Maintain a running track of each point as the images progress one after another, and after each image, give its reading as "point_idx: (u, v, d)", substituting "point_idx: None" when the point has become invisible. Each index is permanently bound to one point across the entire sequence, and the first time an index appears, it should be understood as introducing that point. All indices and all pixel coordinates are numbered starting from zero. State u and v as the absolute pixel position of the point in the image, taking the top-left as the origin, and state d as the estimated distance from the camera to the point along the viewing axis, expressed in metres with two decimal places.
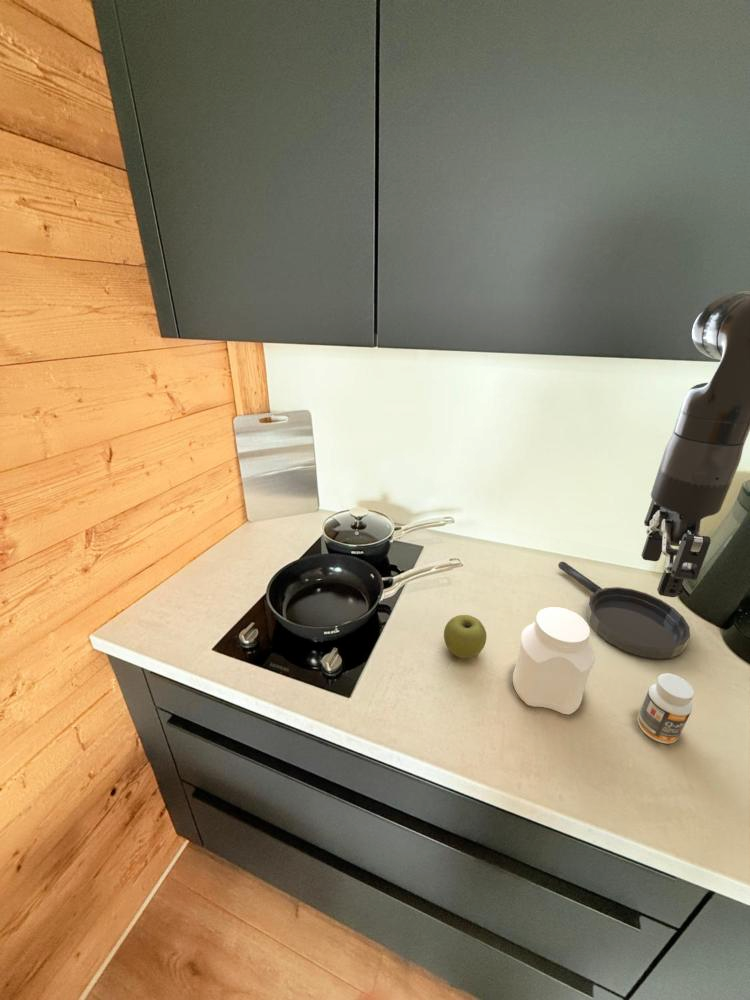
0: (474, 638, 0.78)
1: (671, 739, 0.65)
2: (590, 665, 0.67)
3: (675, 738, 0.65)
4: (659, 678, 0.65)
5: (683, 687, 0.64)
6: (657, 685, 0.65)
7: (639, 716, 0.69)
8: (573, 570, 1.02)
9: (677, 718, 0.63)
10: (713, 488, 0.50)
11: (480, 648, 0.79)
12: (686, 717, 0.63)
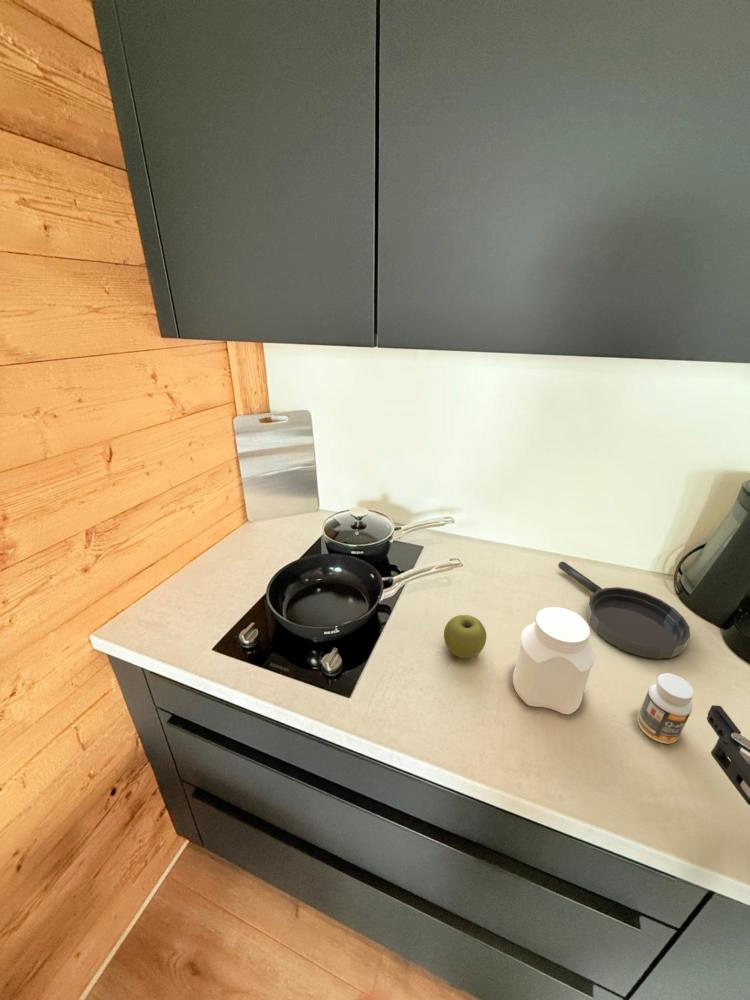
0: (474, 638, 0.78)
1: (671, 739, 0.65)
2: (590, 665, 0.67)
3: (675, 738, 0.65)
4: (659, 678, 0.65)
5: (683, 687, 0.64)
6: (657, 685, 0.65)
7: (639, 716, 0.69)
8: (573, 570, 1.02)
9: (677, 718, 0.63)
10: None
11: (480, 648, 0.79)
12: (686, 717, 0.63)
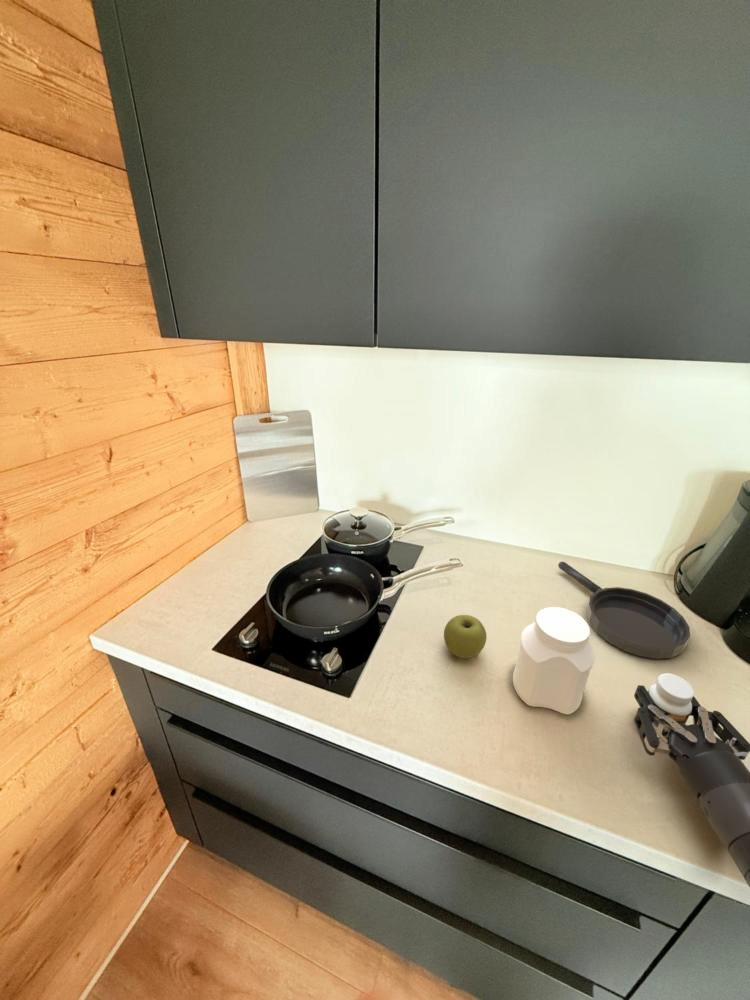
0: (474, 638, 0.78)
1: None
2: (590, 665, 0.67)
3: None
4: (659, 678, 0.65)
5: (683, 687, 0.64)
6: (657, 685, 0.65)
7: None
8: (573, 570, 1.02)
9: (677, 718, 0.63)
10: None
11: (480, 648, 0.79)
12: (686, 717, 0.63)
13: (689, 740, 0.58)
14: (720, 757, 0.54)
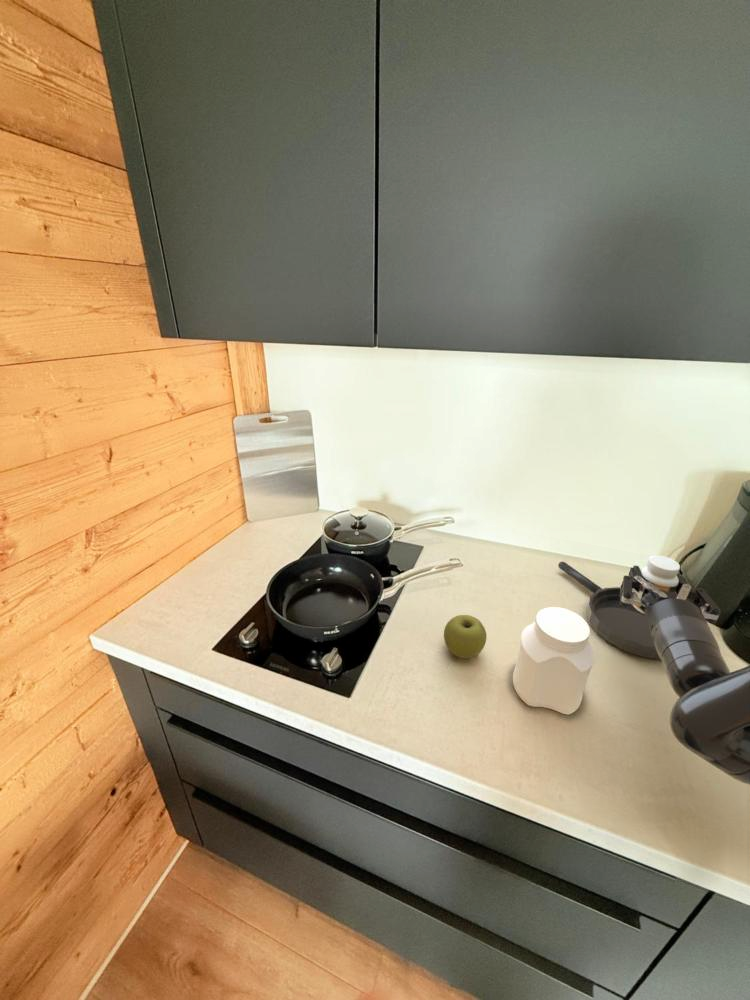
0: (474, 638, 0.78)
1: None
2: (590, 665, 0.67)
3: None
4: (651, 556, 0.75)
5: (671, 564, 0.72)
6: None
7: None
8: (573, 570, 1.02)
9: (660, 589, 0.72)
10: None
11: (480, 648, 0.79)
12: (669, 589, 0.72)
13: (660, 596, 0.68)
14: (678, 602, 0.64)
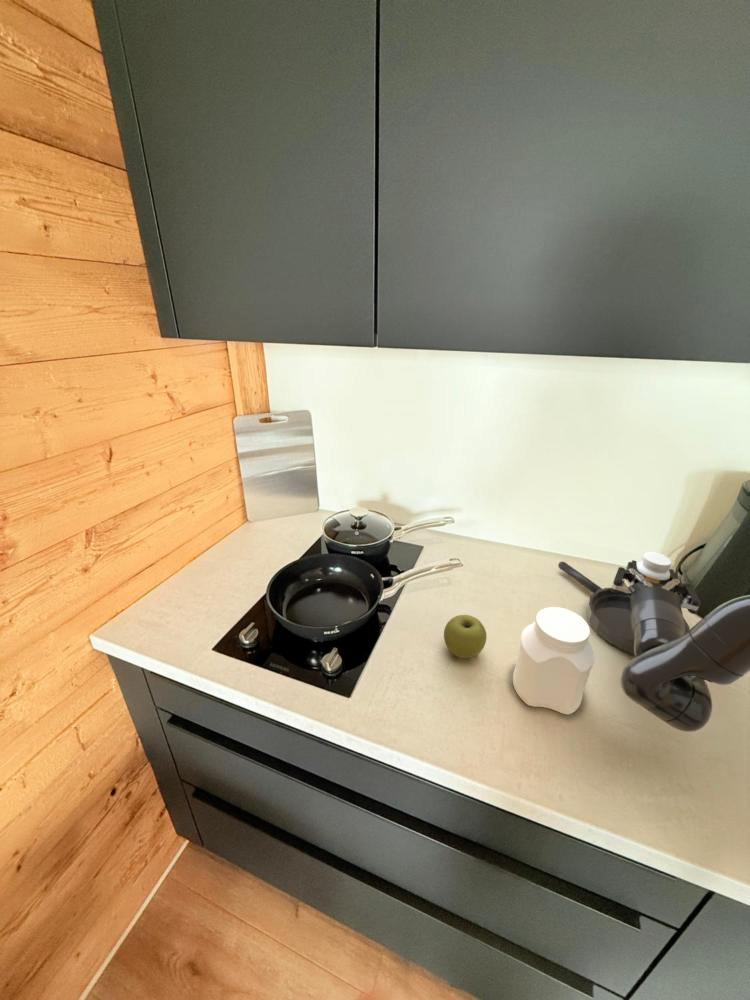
0: (474, 638, 0.78)
1: None
2: (590, 665, 0.67)
3: None
4: None
5: (663, 560, 0.81)
6: None
7: None
8: (573, 570, 1.02)
9: (651, 581, 0.81)
10: None
11: (480, 648, 0.79)
12: (660, 582, 0.81)
13: (645, 585, 0.77)
14: (657, 589, 0.73)
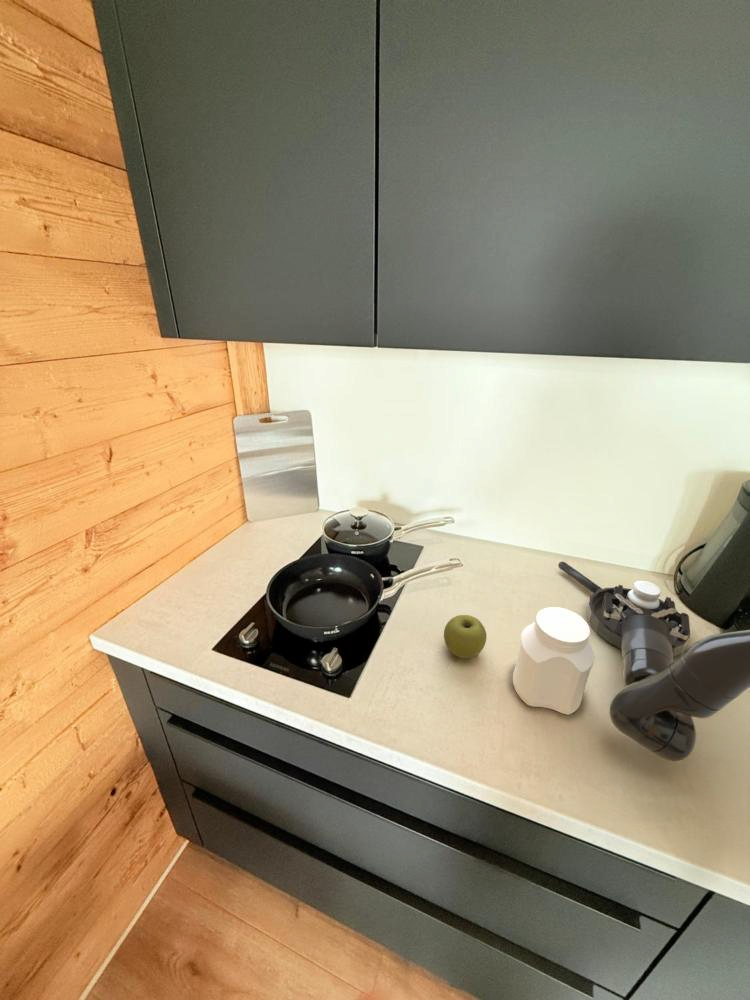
0: (474, 638, 0.78)
1: None
2: (590, 665, 0.67)
3: None
4: (637, 581, 0.86)
5: (653, 589, 0.84)
6: (633, 585, 0.86)
7: None
8: (573, 570, 1.02)
9: None
10: (671, 647, 0.73)
11: (480, 648, 0.79)
12: None
13: (637, 612, 0.80)
14: (647, 617, 0.76)
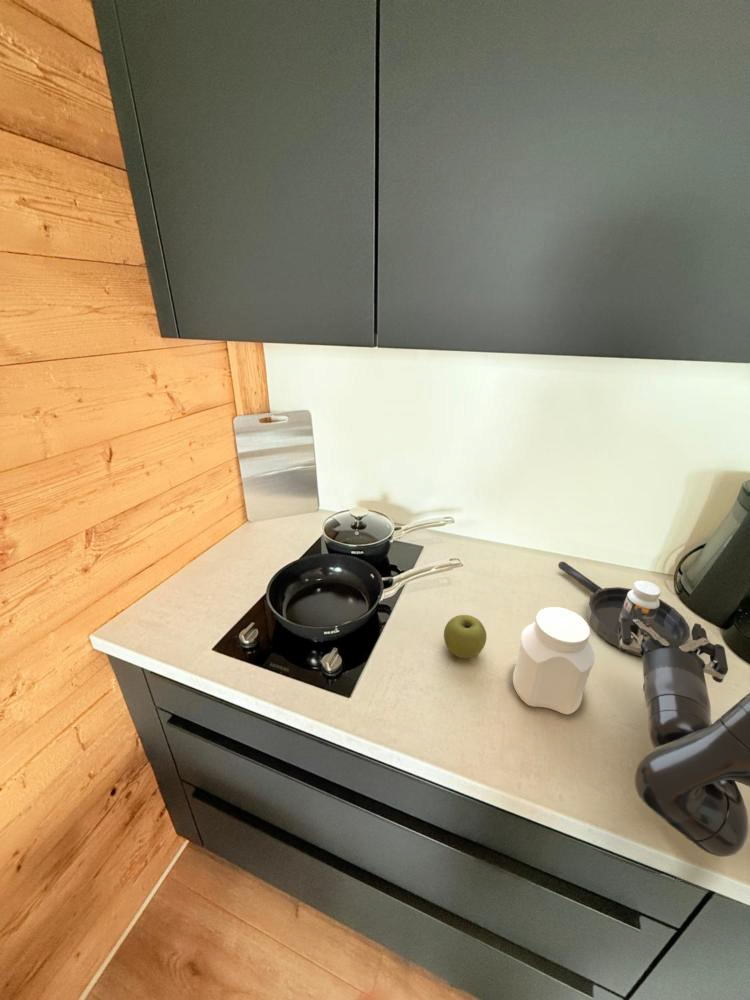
0: (474, 638, 0.78)
1: None
2: (590, 665, 0.67)
3: None
4: (637, 581, 0.86)
5: (653, 589, 0.84)
6: (633, 585, 0.86)
7: None
8: (573, 570, 1.02)
9: None
10: None
11: (480, 648, 0.79)
12: (649, 611, 0.84)
13: (661, 644, 0.66)
14: (675, 652, 0.62)
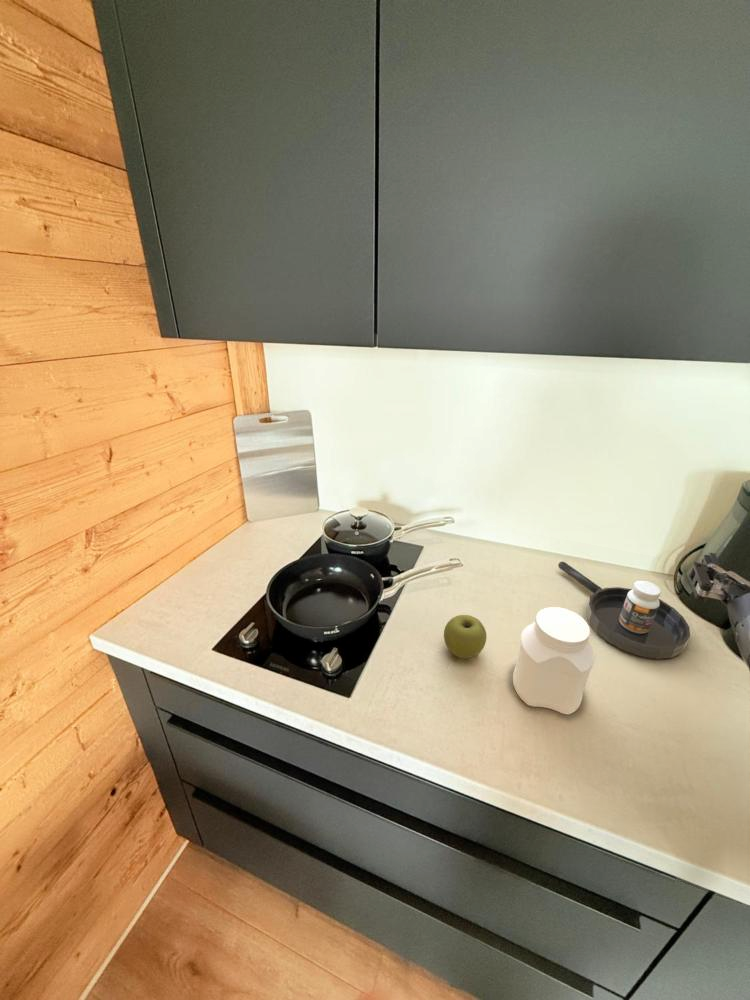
0: (474, 638, 0.78)
1: (637, 629, 0.86)
2: (590, 665, 0.67)
3: (641, 629, 0.86)
4: (637, 581, 0.86)
5: (653, 589, 0.84)
6: (633, 585, 0.86)
7: None
8: (573, 570, 1.02)
9: (641, 609, 0.84)
10: None
11: (480, 648, 0.79)
12: (649, 611, 0.84)
13: None
14: None
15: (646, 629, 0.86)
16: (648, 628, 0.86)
